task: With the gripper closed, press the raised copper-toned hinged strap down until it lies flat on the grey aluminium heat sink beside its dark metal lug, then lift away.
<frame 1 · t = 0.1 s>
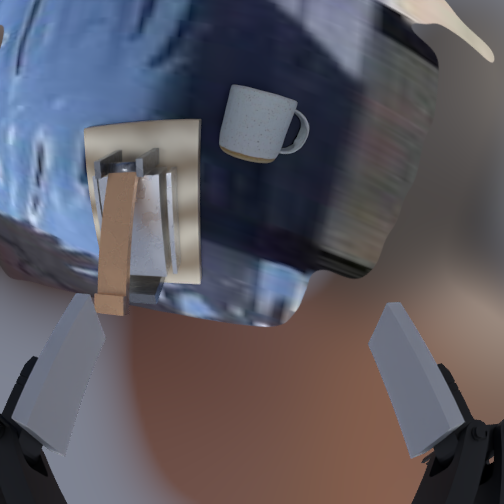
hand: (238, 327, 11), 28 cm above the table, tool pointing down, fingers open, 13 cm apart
strap: (115, 234, 27), point 11 cm above the table, hinge at 35.0°
board: (145, 204, 37), on the table
ceramic mug: (264, 121, 33), on the table
heat sink: (134, 229, 34), on the board, point 5 cm above the table
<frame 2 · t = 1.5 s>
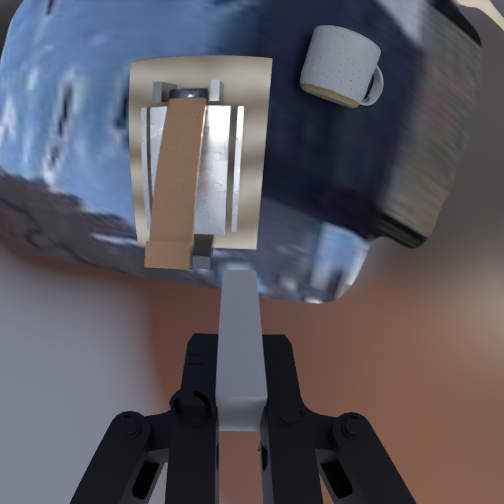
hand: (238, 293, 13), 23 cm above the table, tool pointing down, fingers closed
strap: (177, 166, 22), point 11 cm above the table, hinge at 35.0°
board: (196, 152, 32), on the table
ceramic mug: (338, 72, 27), on the table
heat sink: (189, 174, 28), on the board, point 5 cm above the table
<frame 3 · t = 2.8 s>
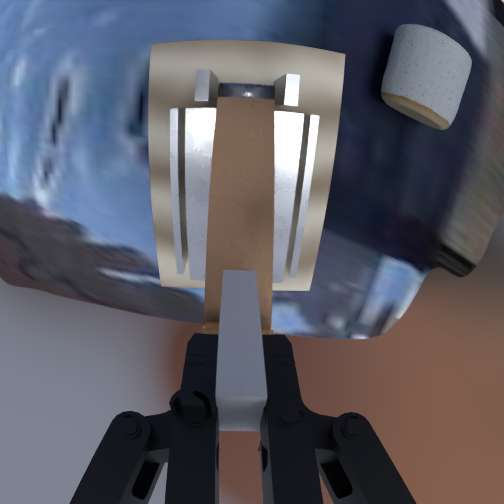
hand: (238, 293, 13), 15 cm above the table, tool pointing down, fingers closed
strap: (241, 205, 15), point 11 cm above the table, hinge at 34.8°, touching gripper
board: (240, 171, 25), on the table
ceramic mug: (414, 81, 20), on the table
heat sink: (239, 205, 21), on the board, point 5 cm above the table
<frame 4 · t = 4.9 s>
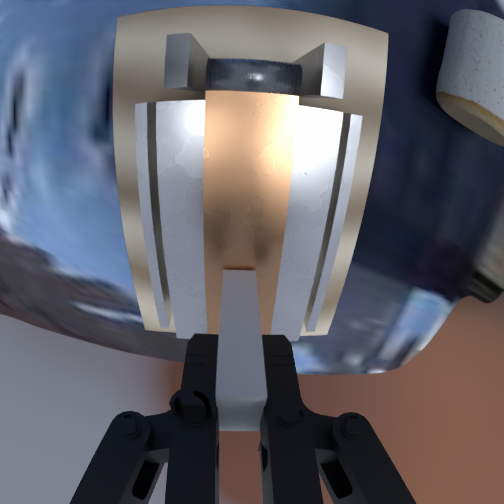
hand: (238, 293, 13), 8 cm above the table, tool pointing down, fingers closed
strap: (242, 251, 13), point 7 cm above the table, hinge at 1.5°, touching gripper
board: (242, 189, 18), on the table
ceramic mug: (466, 81, 14), on the table
heat sink: (241, 247, 15), on the board, point 5 cm above the table
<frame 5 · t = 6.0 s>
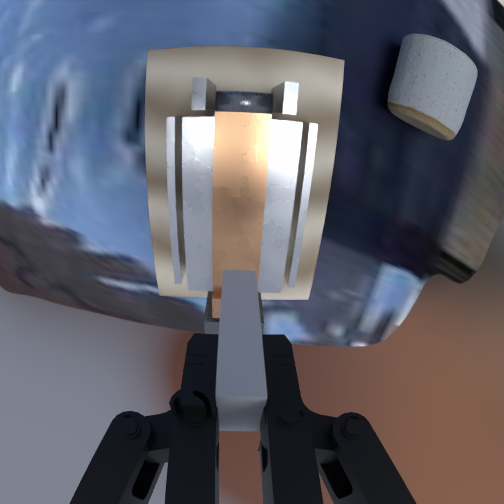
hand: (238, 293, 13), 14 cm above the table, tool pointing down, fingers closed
strap: (237, 214, 19), point 7 cm above the table, hinge at 1.4°
board: (238, 180, 25), on the table
ceramic mug: (419, 91, 21), on the table
heat sink: (237, 215, 21), on the board, point 5 cm above the table
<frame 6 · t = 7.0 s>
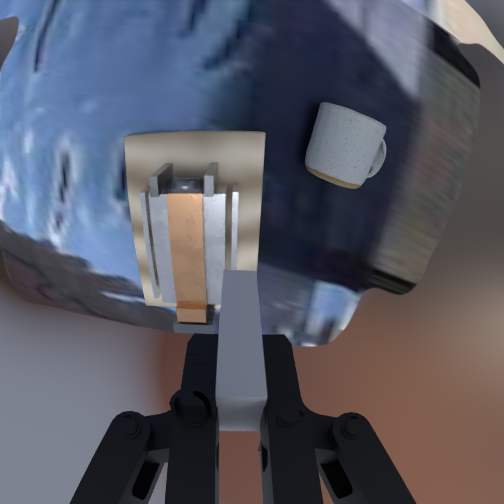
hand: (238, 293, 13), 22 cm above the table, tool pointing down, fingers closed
strap: (187, 256, 29), point 7 cm above the table, hinge at 1.4°
board: (195, 225, 35), on the table
ceramic mug: (342, 142, 31), on the table
heat sink: (190, 254, 31), on the board, point 5 cm above the table
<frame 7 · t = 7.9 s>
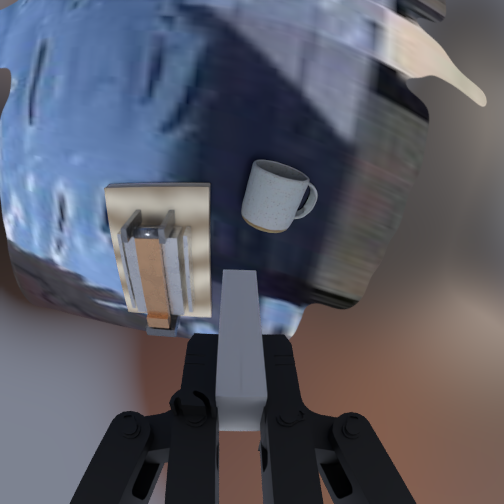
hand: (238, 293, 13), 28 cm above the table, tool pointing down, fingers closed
strap: (152, 281, 39), point 7 cm above the table, hinge at 1.4°
board: (162, 253, 45), on the table
ceramic mug: (279, 187, 40), on the table
heat sink: (156, 278, 41), on the board, point 5 cm above the table
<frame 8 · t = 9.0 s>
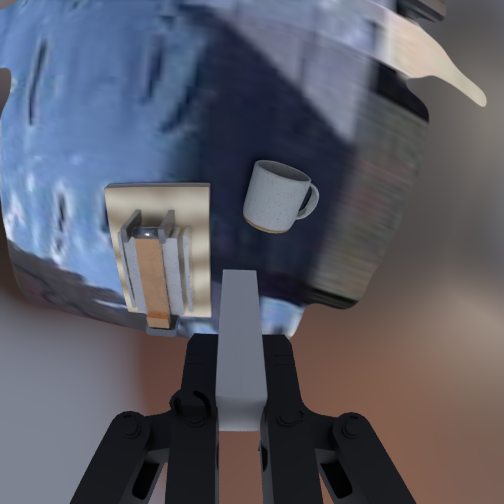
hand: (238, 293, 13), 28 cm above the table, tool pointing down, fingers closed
strap: (152, 281, 39), point 7 cm above the table, hinge at 1.4°
board: (162, 253, 45), on the table
ceramic mug: (281, 188, 40), on the table
heat sink: (156, 278, 41), on the board, point 5 cm above the table
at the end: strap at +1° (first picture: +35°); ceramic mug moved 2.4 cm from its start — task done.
